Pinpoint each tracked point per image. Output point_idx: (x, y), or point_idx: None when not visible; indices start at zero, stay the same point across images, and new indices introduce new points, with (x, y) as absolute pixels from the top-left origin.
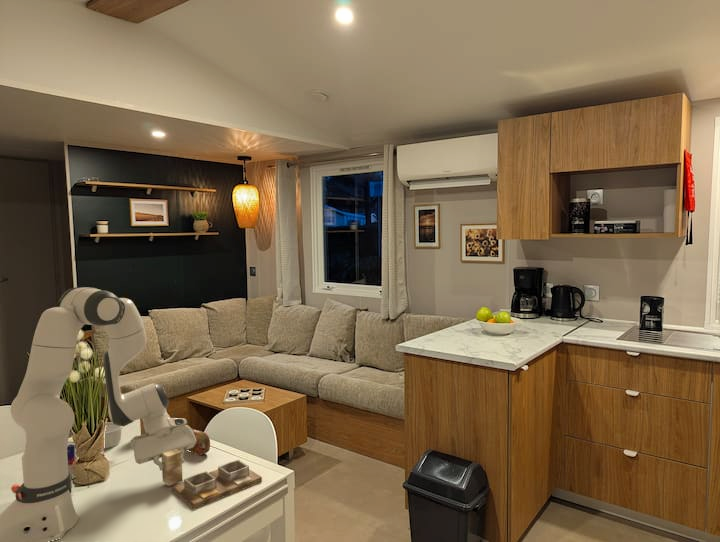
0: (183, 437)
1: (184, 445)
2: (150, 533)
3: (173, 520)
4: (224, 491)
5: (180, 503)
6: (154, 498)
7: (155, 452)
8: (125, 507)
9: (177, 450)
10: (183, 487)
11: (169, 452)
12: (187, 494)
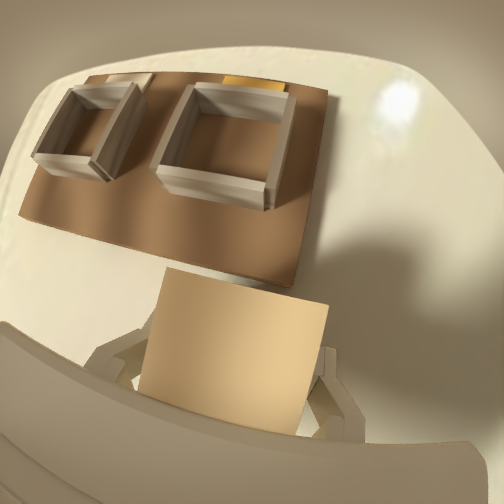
0: (5, 412)
1: (60, 361)
2: (461, 123)
3: (400, 110)
4: (206, 74)
5: (336, 162)
6: (380, 293)
7: (359, 466)
8: (468, 325)
9: (158, 342)
10: (271, 218)
11: (242, 379)
12: (301, 153)
